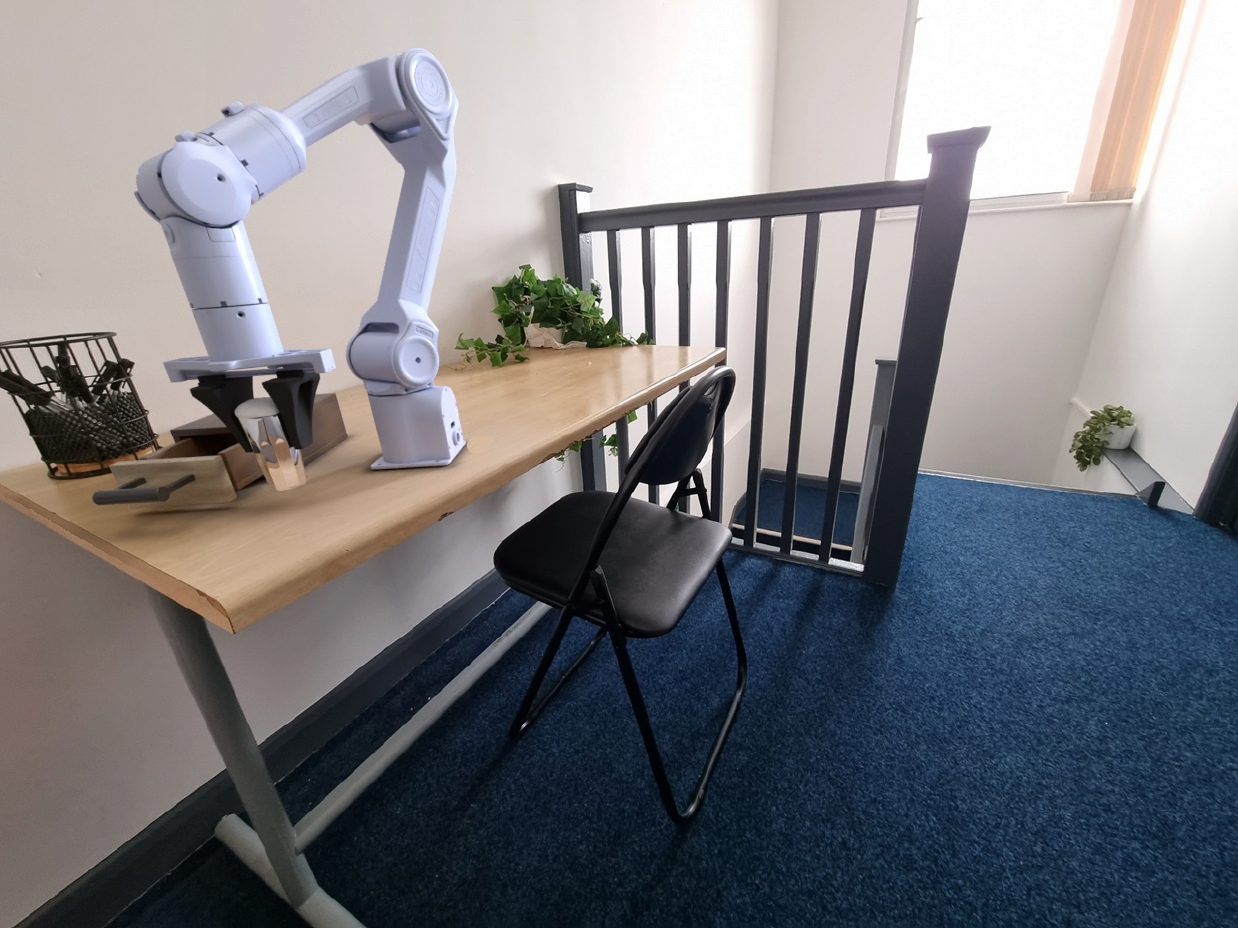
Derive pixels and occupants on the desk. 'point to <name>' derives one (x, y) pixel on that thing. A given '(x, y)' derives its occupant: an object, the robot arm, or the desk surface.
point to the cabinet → (325, 436)
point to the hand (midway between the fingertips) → (279, 447)
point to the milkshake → (271, 444)
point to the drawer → (183, 474)
